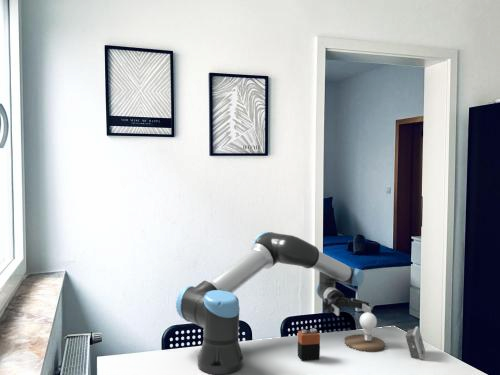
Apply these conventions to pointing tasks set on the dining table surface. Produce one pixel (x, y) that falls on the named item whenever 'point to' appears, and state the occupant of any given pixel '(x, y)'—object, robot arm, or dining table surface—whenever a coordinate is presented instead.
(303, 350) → the battery
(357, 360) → the dining table surface
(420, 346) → the electrical switch
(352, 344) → the board
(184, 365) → the dining table surface
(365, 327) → the lightbulb
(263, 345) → the dining table surface
